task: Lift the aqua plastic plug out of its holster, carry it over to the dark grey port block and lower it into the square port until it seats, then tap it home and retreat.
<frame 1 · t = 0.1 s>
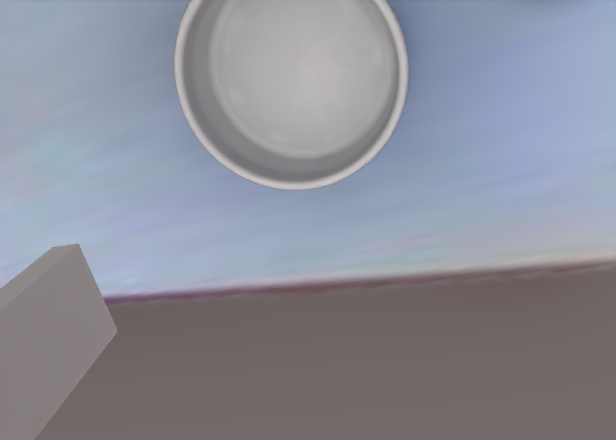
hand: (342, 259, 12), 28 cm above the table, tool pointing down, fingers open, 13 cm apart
dog bowl: (302, 65, 38), on the table
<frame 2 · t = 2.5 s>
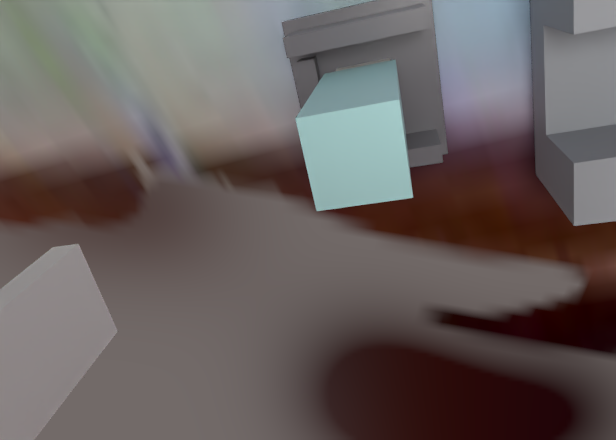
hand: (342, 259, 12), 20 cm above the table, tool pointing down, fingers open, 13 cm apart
plug: (367, 90, 29), point 1 cm above the table, touching holster
holster: (368, 86, 29), on the table
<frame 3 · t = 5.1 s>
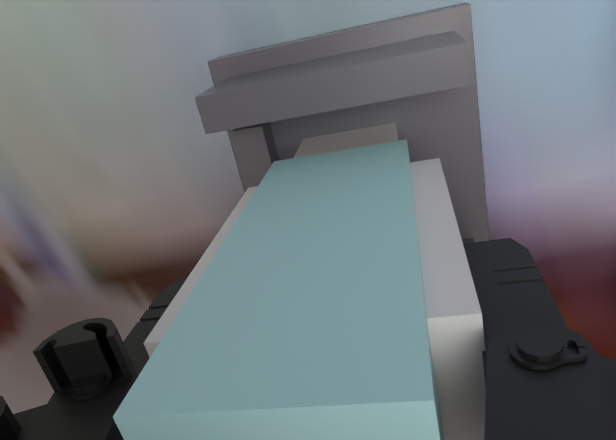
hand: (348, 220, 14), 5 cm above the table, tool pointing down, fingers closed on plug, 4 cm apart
plug: (356, 174, 17), point 1 cm above the table, touching gripper
holster: (358, 164, 18), on the table
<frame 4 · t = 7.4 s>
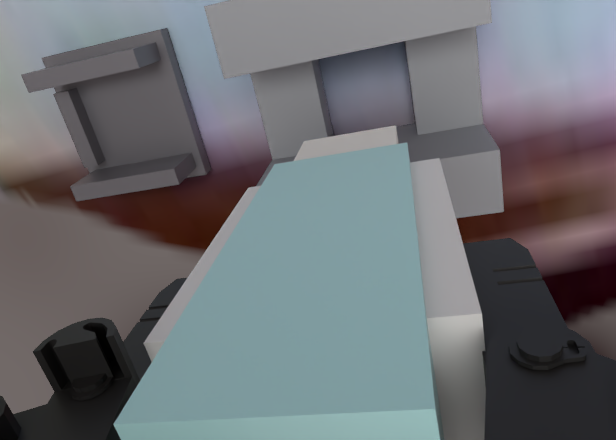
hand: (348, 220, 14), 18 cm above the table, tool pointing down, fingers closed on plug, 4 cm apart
plug: (357, 176, 17), point 15 cm above the table, touching gripper
holster: (133, 114, 33), on the table
port: (366, 84, 30), on the table
when the fingers open (5 cm above the table, at t = 10.0 s): plug drops 1 cm, resting in port.
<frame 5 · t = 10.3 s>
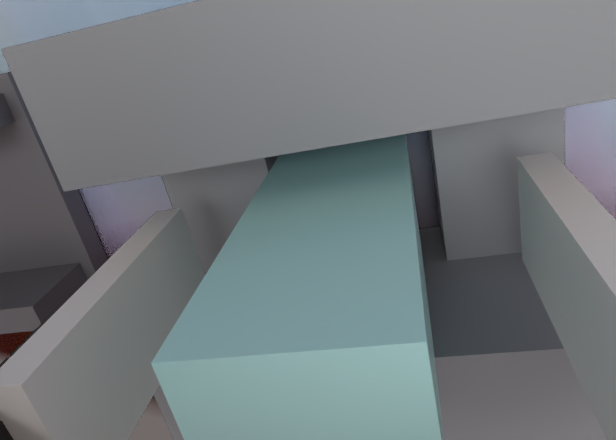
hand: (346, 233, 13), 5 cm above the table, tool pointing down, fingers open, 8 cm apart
plug: (358, 166, 18), resting in port
port: (358, 164, 18), on the table
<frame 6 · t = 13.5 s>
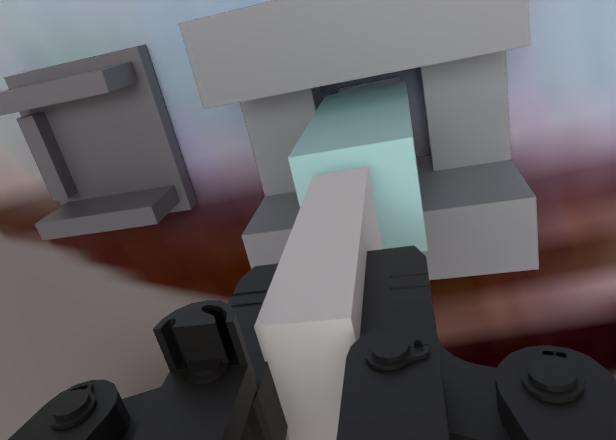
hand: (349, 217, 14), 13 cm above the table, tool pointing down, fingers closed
plug: (373, 112, 26), resting in port
holster: (109, 140, 29), on the table
port: (374, 110, 26), on the table
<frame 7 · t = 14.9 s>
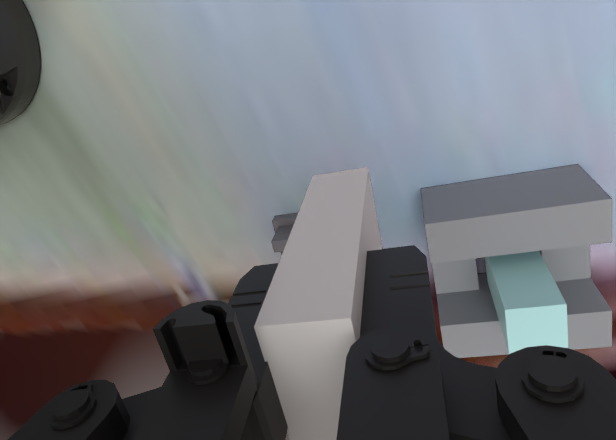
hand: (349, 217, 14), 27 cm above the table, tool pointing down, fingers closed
plug: (502, 243, 43), resting in port
holster: (328, 254, 46), on the table
port: (502, 242, 43), on the table
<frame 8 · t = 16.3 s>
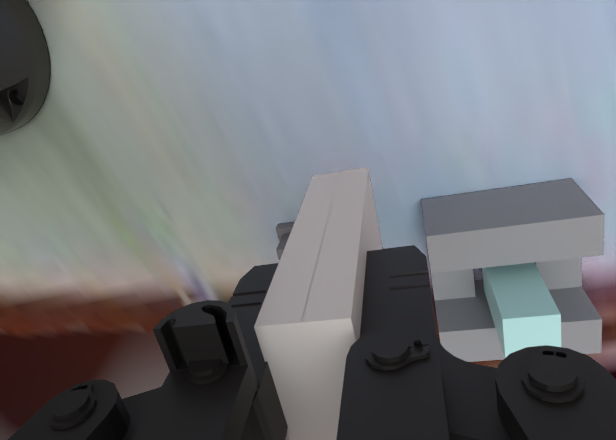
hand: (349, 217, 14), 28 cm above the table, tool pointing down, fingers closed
plug: (498, 252, 44), resting in port
holster: (330, 261, 47), on the table
port: (498, 251, 44), on the table
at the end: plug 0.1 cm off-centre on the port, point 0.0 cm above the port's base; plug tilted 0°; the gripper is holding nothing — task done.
